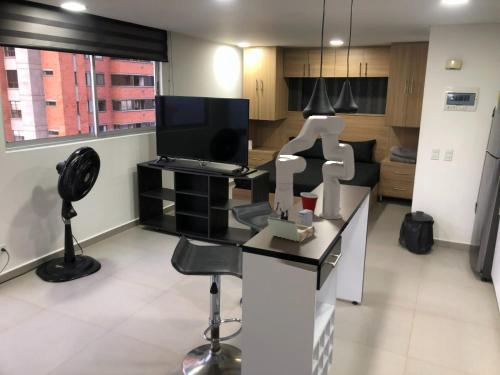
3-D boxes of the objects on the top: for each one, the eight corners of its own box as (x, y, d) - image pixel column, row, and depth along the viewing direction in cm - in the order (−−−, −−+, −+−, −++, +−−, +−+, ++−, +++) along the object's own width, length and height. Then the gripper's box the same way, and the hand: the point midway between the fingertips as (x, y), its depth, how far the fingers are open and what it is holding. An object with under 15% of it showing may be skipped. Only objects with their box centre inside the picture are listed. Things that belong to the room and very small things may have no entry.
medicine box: (305, 225, 216) (305, 209, 214) (312, 226, 213) (313, 210, 212) (296, 228, 210) (297, 212, 208) (304, 230, 207) (304, 213, 206)
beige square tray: (287, 229, 209) (287, 220, 208) (314, 234, 200) (314, 225, 199) (272, 236, 197) (272, 227, 197) (300, 242, 189) (300, 233, 188)
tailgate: (272, 233, 197) (267, 215, 191) (300, 239, 188) (295, 221, 183) (271, 235, 196) (266, 217, 191) (298, 241, 188) (294, 223, 182)
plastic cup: (318, 217, 230) (319, 196, 228) (298, 216, 232) (299, 195, 230) (318, 212, 241) (319, 192, 238) (300, 211, 243) (301, 191, 240)
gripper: (285, 181, 194) (285, 218, 198) (268, 187, 182) (268, 227, 186) (299, 183, 189) (299, 221, 194) (283, 190, 178) (282, 230, 182)
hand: (284, 224), depth 190 cm, fingers closed
